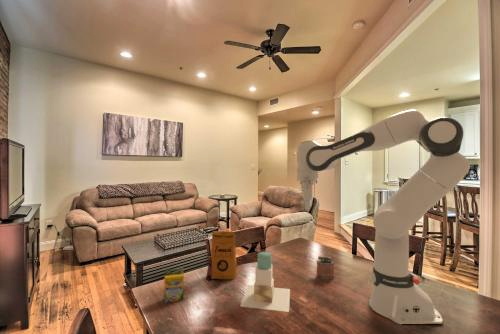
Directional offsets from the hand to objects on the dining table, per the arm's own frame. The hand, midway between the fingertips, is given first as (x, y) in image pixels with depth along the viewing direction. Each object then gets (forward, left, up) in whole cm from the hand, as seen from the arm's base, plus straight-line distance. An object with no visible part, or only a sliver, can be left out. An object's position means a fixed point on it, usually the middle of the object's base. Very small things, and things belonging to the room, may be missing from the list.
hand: (306, 207), depth 110 cm
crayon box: (+52, +25, -34) cm, 67 cm away
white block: (+17, +18, -27) cm, 37 cm away
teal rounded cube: (+17, +18, -21) cm, 33 cm away
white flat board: (+16, +18, -34) cm, 42 cm away
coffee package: (+38, +3, -34) cm, 51 cm away
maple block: (+17, +18, -33) cm, 41 cm away
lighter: (-9, -6, -34) cm, 36 cm away
